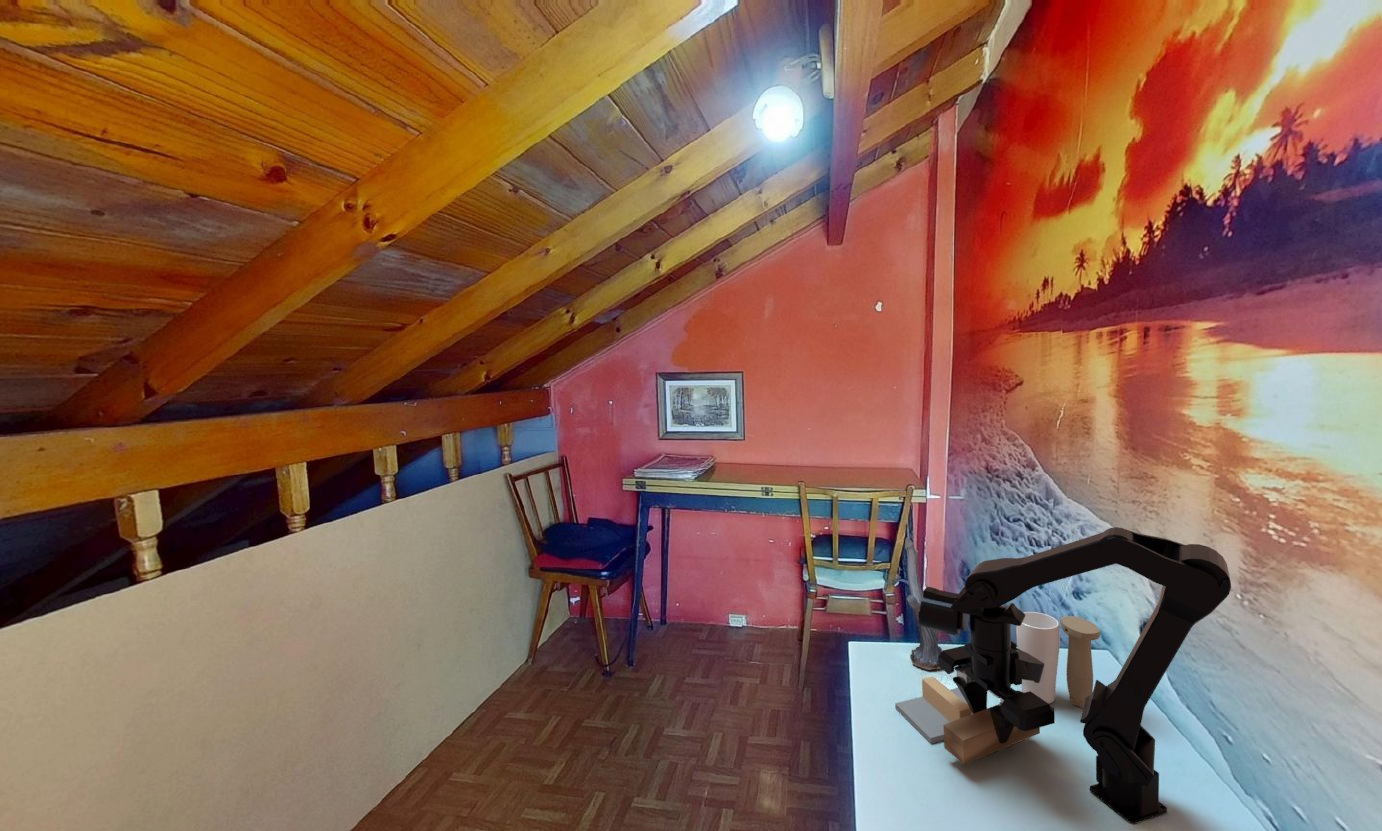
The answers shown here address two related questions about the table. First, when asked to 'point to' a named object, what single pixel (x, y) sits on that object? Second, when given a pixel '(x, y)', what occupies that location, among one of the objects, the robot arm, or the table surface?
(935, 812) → the table surface
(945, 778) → the table surface
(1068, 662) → the handle
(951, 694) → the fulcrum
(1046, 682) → the drinking glass
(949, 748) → the batten
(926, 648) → the antler
